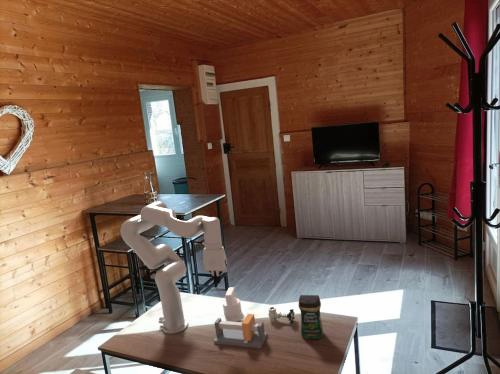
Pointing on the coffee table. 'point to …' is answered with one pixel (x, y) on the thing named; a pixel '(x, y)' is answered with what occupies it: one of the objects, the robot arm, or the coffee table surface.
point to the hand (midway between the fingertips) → (217, 283)
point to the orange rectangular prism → (248, 327)
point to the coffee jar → (310, 317)
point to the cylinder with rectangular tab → (231, 304)
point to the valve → (280, 315)
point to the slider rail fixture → (238, 334)
